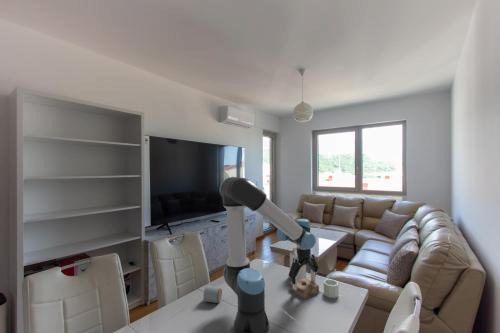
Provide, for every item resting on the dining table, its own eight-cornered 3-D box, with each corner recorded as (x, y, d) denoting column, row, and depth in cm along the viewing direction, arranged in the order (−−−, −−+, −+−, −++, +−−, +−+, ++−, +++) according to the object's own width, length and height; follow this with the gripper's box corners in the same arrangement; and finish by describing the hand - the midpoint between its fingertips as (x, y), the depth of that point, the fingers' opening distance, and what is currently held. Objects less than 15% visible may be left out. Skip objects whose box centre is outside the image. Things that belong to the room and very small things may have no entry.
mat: (302, 301, 124) (302, 300, 124) (286, 290, 135) (286, 289, 135) (322, 293, 131) (322, 292, 131) (305, 283, 143) (305, 282, 143)
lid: (303, 298, 126) (303, 288, 126) (289, 289, 135) (289, 280, 135) (318, 292, 131) (318, 283, 131) (304, 284, 141) (304, 275, 141)
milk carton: (290, 276, 153) (289, 246, 153) (299, 274, 156) (298, 244, 156) (296, 281, 146) (296, 249, 146) (306, 278, 149) (305, 248, 149)
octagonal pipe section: (331, 300, 125) (331, 287, 125) (320, 293, 131) (320, 281, 131) (341, 296, 129) (341, 283, 129) (330, 290, 135) (330, 278, 135)
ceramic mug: (218, 306, 121) (218, 290, 121) (203, 304, 123) (203, 289, 123) (224, 295, 131) (224, 281, 132) (210, 294, 133) (210, 280, 133)
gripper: (290, 254, 124) (291, 295, 124) (324, 245, 137) (325, 282, 137) (281, 249, 130) (282, 289, 130) (314, 241, 143) (315, 277, 143)
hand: (304, 285), depth 133 cm, fingers open, 13 cm apart
